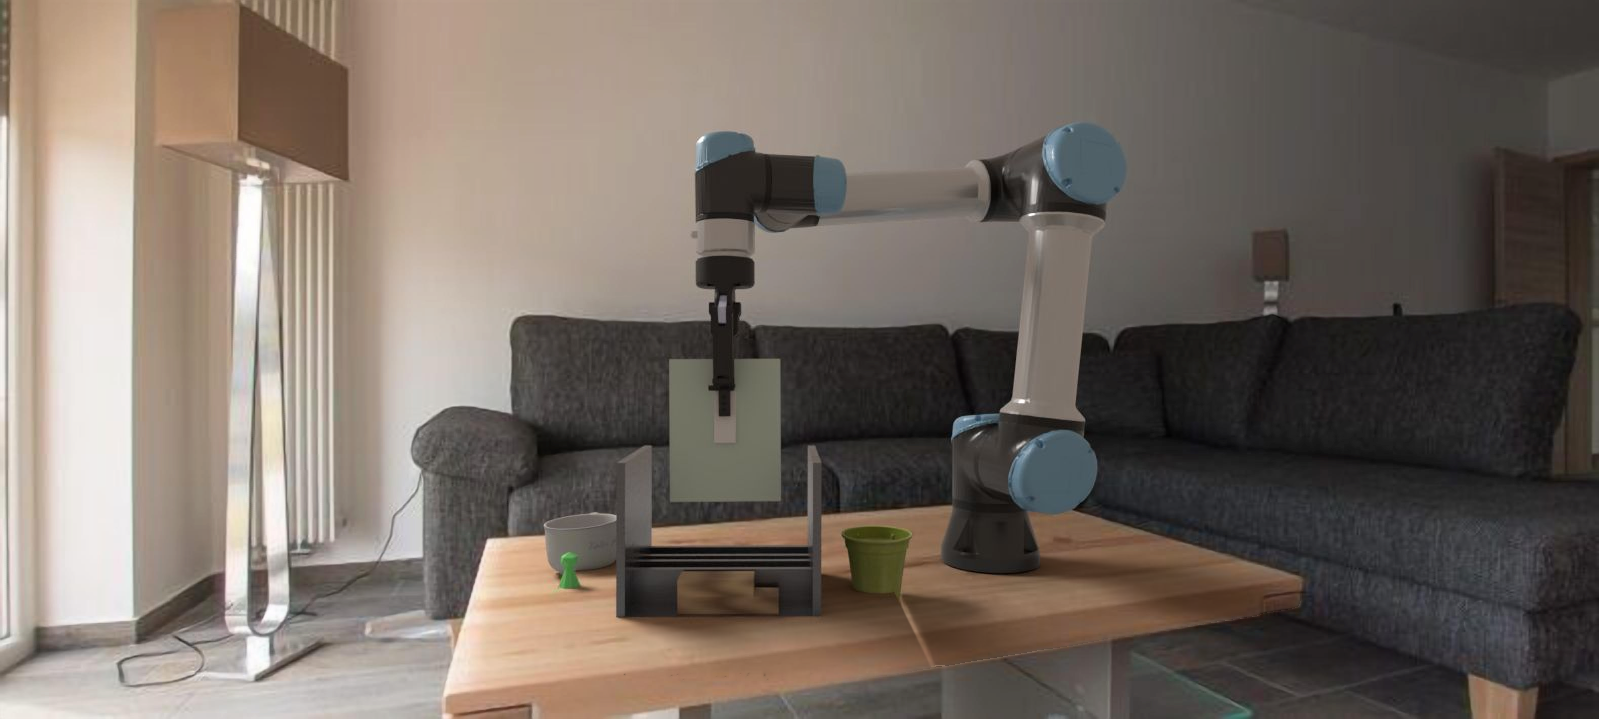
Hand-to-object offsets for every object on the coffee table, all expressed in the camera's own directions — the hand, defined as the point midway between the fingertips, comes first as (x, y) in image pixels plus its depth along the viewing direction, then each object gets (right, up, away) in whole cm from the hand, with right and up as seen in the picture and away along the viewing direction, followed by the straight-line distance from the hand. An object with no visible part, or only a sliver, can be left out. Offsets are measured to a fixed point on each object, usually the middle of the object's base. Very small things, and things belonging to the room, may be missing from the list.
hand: (726, 440), depth 104 cm
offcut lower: (+1, -20, -6) cm, 21 cm away
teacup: (-23, -21, +18) cm, 36 cm away
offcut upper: (-1, -18, -6) cm, 19 cm away
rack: (0, -21, +1) cm, 21 cm away
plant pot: (+20, -22, +4) cm, 29 cm away
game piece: (-21, -21, +4) cm, 31 cm away
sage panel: (0, -8, 0) cm, 8 cm away
